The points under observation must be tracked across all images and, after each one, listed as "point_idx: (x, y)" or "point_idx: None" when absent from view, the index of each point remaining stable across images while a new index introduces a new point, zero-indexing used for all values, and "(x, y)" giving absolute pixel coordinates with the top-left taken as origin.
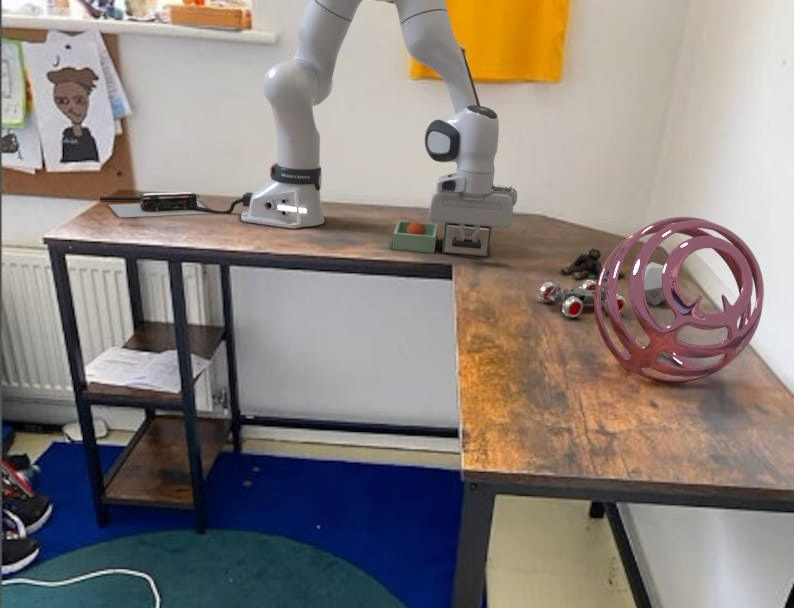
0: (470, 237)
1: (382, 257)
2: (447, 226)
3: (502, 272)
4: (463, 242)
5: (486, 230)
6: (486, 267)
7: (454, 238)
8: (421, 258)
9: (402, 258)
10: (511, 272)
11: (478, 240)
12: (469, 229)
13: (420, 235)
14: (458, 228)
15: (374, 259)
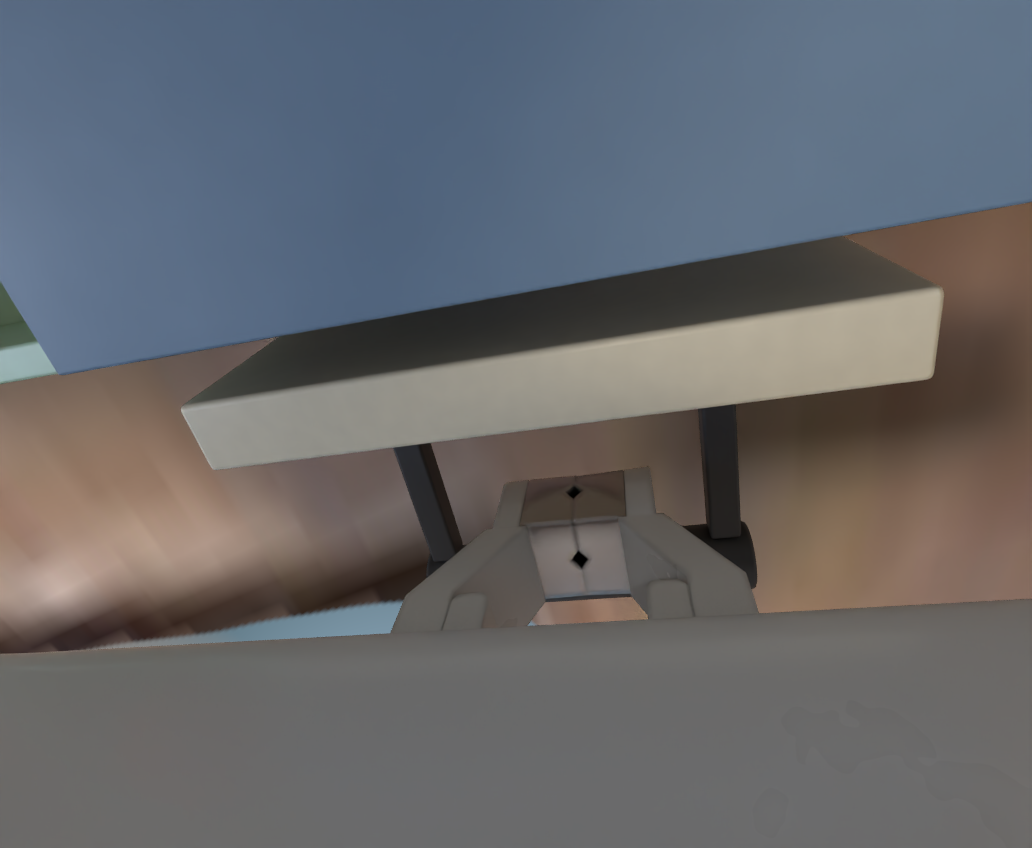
0: (615, 586)
1: (66, 559)
2: (220, 466)
3: (920, 566)
4: (550, 601)
5: (871, 380)
6: (784, 497)
7: (407, 458)
8: (260, 483)
9: (164, 532)
10: (1009, 541)
11: (710, 410)
12: (553, 418)
13: (21, 372)
14: (381, 440)
15: (64, 607)
